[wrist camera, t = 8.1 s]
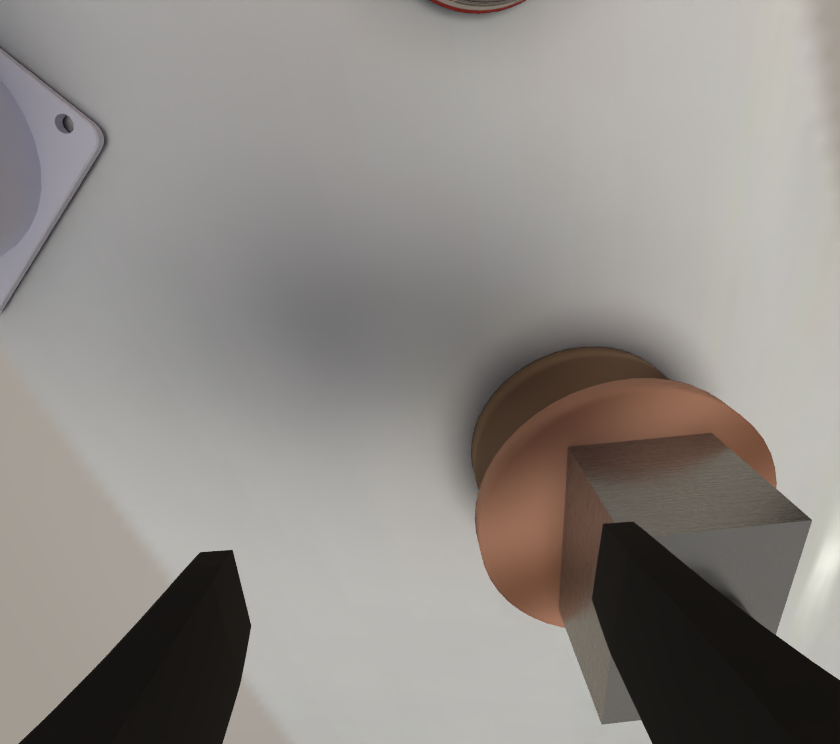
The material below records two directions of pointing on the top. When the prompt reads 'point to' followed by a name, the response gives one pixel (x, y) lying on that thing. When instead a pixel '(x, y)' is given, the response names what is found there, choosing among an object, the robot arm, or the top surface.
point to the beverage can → (477, 5)
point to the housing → (673, 536)
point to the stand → (548, 448)
